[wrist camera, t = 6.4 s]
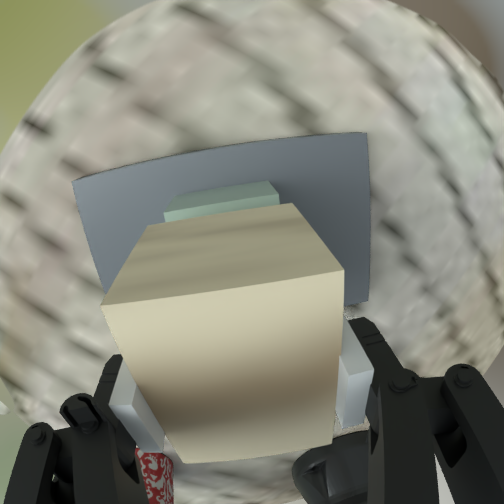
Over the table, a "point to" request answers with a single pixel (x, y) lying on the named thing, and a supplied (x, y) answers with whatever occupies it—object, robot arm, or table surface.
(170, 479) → the mug
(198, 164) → the baseplate
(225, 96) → the table surface
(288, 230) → the maple brick
